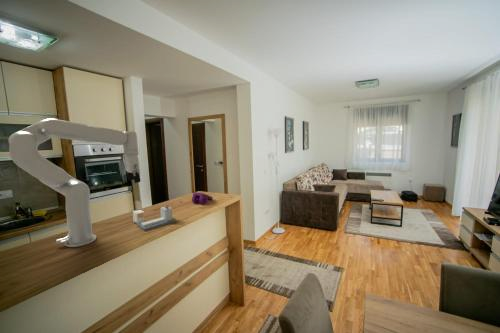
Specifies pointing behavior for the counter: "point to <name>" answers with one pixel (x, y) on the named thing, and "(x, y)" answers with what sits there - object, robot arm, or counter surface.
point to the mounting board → (158, 220)
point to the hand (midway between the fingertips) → (134, 181)
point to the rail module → (138, 216)
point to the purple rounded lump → (200, 198)
